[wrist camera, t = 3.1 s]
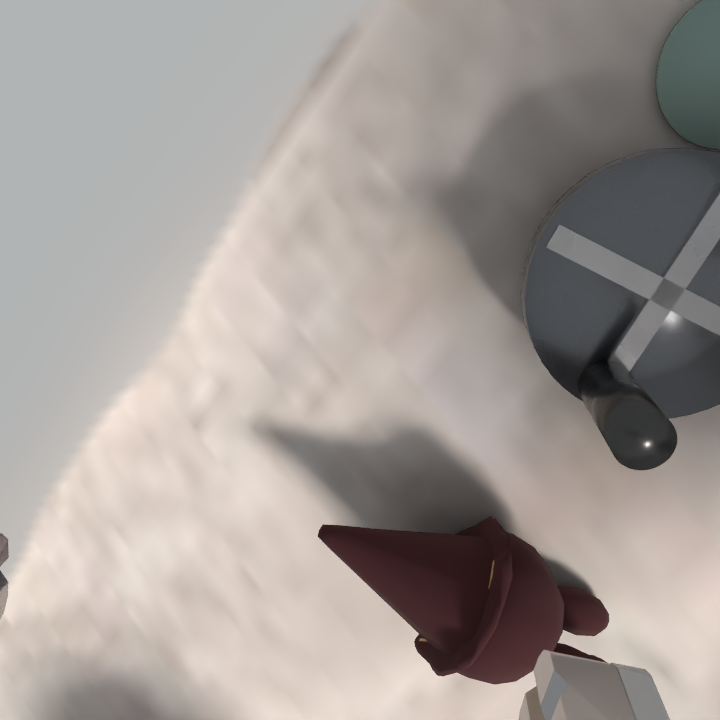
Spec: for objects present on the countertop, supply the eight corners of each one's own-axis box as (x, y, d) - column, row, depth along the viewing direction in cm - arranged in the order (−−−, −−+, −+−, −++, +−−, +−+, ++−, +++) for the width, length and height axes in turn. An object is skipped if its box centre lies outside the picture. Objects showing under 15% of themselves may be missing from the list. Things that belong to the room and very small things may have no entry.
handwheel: (613, 97, 24) (673, 89, 18) (855, 226, 25) (988, 258, 19) (474, 339, 27) (487, 398, 22) (690, 446, 28) (760, 532, 22)
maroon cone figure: (267, 647, 28) (573, 769, 31) (344, 547, 24) (691, 697, 26) (300, 519, 34) (556, 631, 36) (367, 421, 30) (651, 554, 32)
